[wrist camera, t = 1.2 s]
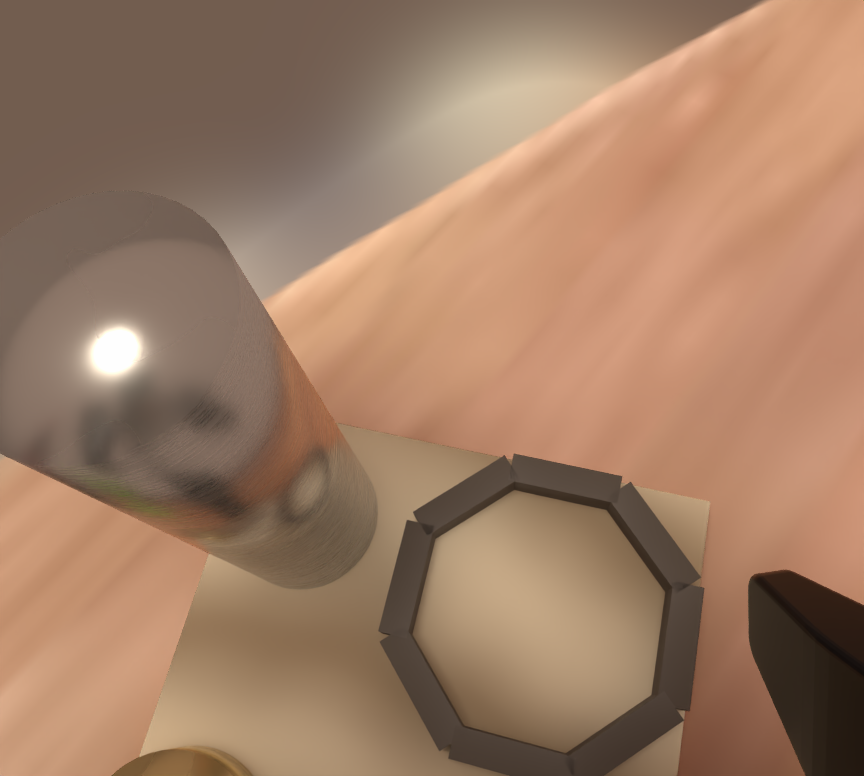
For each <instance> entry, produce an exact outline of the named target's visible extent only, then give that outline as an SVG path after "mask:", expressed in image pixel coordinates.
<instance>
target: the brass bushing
mask: <svg viewBox="0 0 864 776" xmlns="http://www.w3.org/2000/svg"><path fill="white" fill-rule="evenodd" d="M112 776H253V775H252V773H251V772H250V771H249V770H248V769H247V768H246V767H245V766H244V765H243V764H242V763H241V762H240V761H238V760H237V759H236V758H234V757H233V756H231V755H229V754H227V753H226V752H223V751H220V750H218V749H215V748H210V747H206V746H185V747H178V748H173V749H167V750H161V751H156V752H152V753H149V754H146V755H143V756H141V757H138V758H136V759H135V760H133V761H131V762H129V763H127V764H126V765H124V766H123V767H122V768H120V769H119V770H118V771H116V772H115V773H114V774H113V775H112Z"/></svg>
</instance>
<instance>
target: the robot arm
mask: <svg viewBox="0 0 864 776" xmlns="http://www.w3.org/2000/svg"><path fill="white" fill-rule="evenodd" d="M748 619H749V642H750V647H751V651H752V654H753V657H754V659H755V662H756V664H757V666H758V669H759V671H760V673H761V675H762V678H763V680H764V682H765V685H766V687H767V689H768V691H769V694H770V696H771V698H772V700H773V703H774V705H775V707H776V710H777V712H778V714H779V716H780V719H781V721H782V723H783V725H784V728H785V730H786V732H787V735H788V737H789V739H790V741H791V744H792V746H793V748H794V750H795V753H796V755H797V757H798V760H799V762H800V764H801V766H802V768H803V771H804V773H805V775H806V776H864V605H862V604H860V603H858V602H856V601H854V600H852V599H850V598H848V597H845V596H843V595H841V594H839V593H837V592H835V591H833V590H831V589H829V588H827V587H824V586H822V585H820V584H818V583H816V582H814V581H812V580H810V579H808V578H806V577H803V576H801V575H799V574H797V573H795V572H792V571H790V570H779V571H772V572H765V573H758V574H754V575H753V576H752V577H751V578H750V581H749V585H748Z"/></svg>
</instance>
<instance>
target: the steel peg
mask: <svg viewBox="0 0 864 776" xmlns="http://www.w3.org/2000/svg"><path fill="white" fill-rule="evenodd" d="M0 454H2V455H4V456H6V457H8V458H11V459H13V460H15V461H17V462H19V463H21V464H23V465H25V466H27V467H29V468H31V469H34V470H36V471H38V472H40V473H42V474H44V475H46V476H48V477H50V478H52V479H54V480H57V481H59V482H61V483H63V484H65V485H67V486H69V487H71V488H73V489H75V490H77V491H79V492H82V493H84V494H86V495H88V496H90V497H92V498H94V499H96V500H98V501H100V502H102V503H105V504H107V505H109V506H111V507H113V508H115V509H117V510H119V511H121V512H123V513H125V514H128V515H130V516H132V517H134V518H136V519H138V520H140V521H142V522H144V523H146V524H148V525H150V526H153V527H155V528H157V529H159V530H161V531H163V532H165V533H167V534H169V535H171V536H173V537H176V538H178V539H180V540H182V541H184V542H186V543H188V544H190V545H192V546H194V547H196V548H199V549H201V550H203V551H205V552H207V553H209V554H211V555H213V556H215V557H217V558H219V559H222V560H224V561H226V562H228V563H230V564H232V565H234V566H236V567H238V568H240V569H242V570H244V571H247V572H249V573H251V574H253V575H255V576H257V577H259V578H261V579H263V580H265V581H267V582H270V583H272V584H274V585H277V586H280V587H283V588H288V589H299V590H303V589H313V588H317V587H321V586H324V585H327V584H329V583H332V582H333V581H335V580H337V579H339V578H341V577H342V576H343V575H345V574H346V573H348V572H349V571H350V570H351V569H352V568H353V567H354V566H355V565H356V564H357V563H358V562H359V561H360V560H361V558H362V557H363V556H364V554H365V553H366V551H367V549H368V548H369V546H370V543H371V541H372V539H373V536H374V533H375V530H376V525H377V518H378V504H377V498H376V493H375V490H374V487H373V484H372V482H371V480H370V478H369V476H368V475H367V473H366V471H365V470H364V468H363V466H362V465H361V463H360V462H359V460H358V458H357V457H356V455H355V453H354V452H353V450H352V449H351V447H350V445H349V444H348V442H347V441H346V439H345V437H344V436H343V434H342V432H341V431H340V429H339V428H338V426H337V424H336V423H335V421H334V419H333V418H332V416H331V415H330V413H329V411H328V410H327V408H326V406H325V405H324V403H323V402H322V400H321V398H320V397H319V395H318V393H317V392H316V390H315V389H314V387H313V385H312V384H311V382H310V381H309V379H308V377H307V376H306V374H305V372H304V371H303V369H302V368H301V366H300V364H299V363H298V361H297V359H296V358H295V356H294V355H293V353H292V351H291V350H290V348H289V346H288V345H287V343H286V342H285V340H284V338H283V337H282V335H281V333H280V332H279V330H278V329H277V327H276V325H275V324H274V322H273V320H272V319H271V317H270V316H269V314H268V312H267V311H266V309H265V308H264V306H263V304H262V303H261V301H260V299H259V298H258V296H257V295H256V293H255V292H254V290H253V288H252V287H251V285H250V283H249V282H248V280H247V278H246V277H245V275H244V273H243V272H242V270H241V269H240V267H239V265H238V264H237V262H236V261H235V259H234V257H233V256H232V254H231V253H230V251H229V249H228V248H227V246H226V244H225V243H224V241H223V240H222V239H221V237H220V236H219V234H218V233H217V231H216V230H215V229H214V228H213V227H212V226H211V225H210V224H209V223H208V222H207V221H206V220H205V219H203V218H202V217H201V216H200V215H198V214H197V213H196V212H194V211H193V210H191V209H190V208H187V207H186V206H184V205H182V204H180V203H178V202H176V201H173V200H171V199H168V198H165V197H163V196H158V195H154V194H150V193H145V192H136V191H107V192H99V193H92V194H88V195H83V196H79V197H75V198H72V199H69V200H66V201H63V202H60V203H57V204H55V205H53V206H51V207H49V208H46V209H45V210H42V211H40V212H38V213H36V214H35V215H33V216H31V217H29V218H28V219H26V220H24V221H23V222H21V223H20V224H19V225H17V226H16V227H14V228H13V229H12V230H10V231H9V232H7V233H6V234H5V235H4V236H3V237H2V238H1V239H0Z"/></svg>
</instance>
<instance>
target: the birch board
mask: <svg viewBox="0 0 864 776" xmlns="http://www.w3.org/2000/svg"><path fill="white" fill-rule="evenodd" d="M336 424H337V426H338V428H339V429H340V431H341V432H342V434H343V436H344V437H345V439H346V441H347V442H348V444H349V445H350V447H351V449H352V450H353V452H354V453H355V455H356V457H357V458H358V460H359V462H360V463H361V465H362V466H363V468H364V470H365V471H366V473H367V475H368V476H369V478H370V480H371V482H372V484H373V487H374V490H375V493H376V498H377V504H378V518H377V525H376V530H375V533H374V536H373V539H372V541H371V543H370V546H369V548H368V549H367V551H366V553H365V554H364V556H363V557H362V558H361V560H360V561H359V562H358V563H357V564H356V565H355V566H354V567H353V568H352V569H351V570H350V571H349V572H348V573H346V574H345V575H343V576H342V577H341V578H339V579H337V580H335V581H333V582H332V583H329V584H327V585H324V586H321V587H317V588H313V589H303V590H299V589H288V588H283V587H280V586H277V585H274V584H272V583H270V582H267V581H265V580H263V579H261V578H259V577H257V576H255V575H253V574H251V573H249V572H247V571H244V570H242V569H240V568H238V567H236V566H234V565H232V564H230V563H228V562H226V561H224V560H222V559H219V558H217V557H215V556H213V555H211V554H209V555H208V558H207V560H206V563H205V566H204V569H203V572H202V575H201V578H200V581H199V584H198V587H197V590H196V592H195V595H194V598H193V601H192V604H191V607H190V610H189V613H188V616H187V619H186V622H185V624H184V627H183V630H182V633H181V636H180V639H179V642H178V645H177V648H176V651H175V654H174V656H173V659H172V662H171V665H170V668H169V671H168V674H167V677H166V680H165V683H164V686H163V688H162V691H161V694H160V697H159V700H158V703H157V706H156V709H155V712H154V715H153V718H152V720H151V723H150V726H149V729H148V732H147V735H146V738H145V741H144V744H143V747H142V750H141V752H140V755H139V757H141V756H143V755H146V754H149V753H152V752H156V751H161V750H167V749H173V748H178V747H185V746H206V747H210V748H215V749H218V750H220V751H223V752H226V753H227V754H229V755H231V756H233V757H234V758H236V759H237V760H238V761H240V762H241V763H242V764H243V765H244V766H245V767H246V768H247V769H248V770H249V771H250V772H251V773H252V775H253V776H677V774H678V765H679V757H680V749H681V740H682V732H683V724H684V716H685V711H690V704H691V696H692V687H693V679H694V670H695V662H696V653H697V645H698V637H699V628H700V620H701V611H702V603H703V594H704V588H703V587H700V583H701V574H702V566H703V558H704V549H705V541H706V533H707V524H708V516H709V508H710V501H705V500H701V499H696V498H691V497H686V496H682V495H677V494H672V493H667V492H663V491H658V490H653V489H648V488H644V487H639V486H634V485H633V484H632V483H631V482H630V483H628V484H625V483H621V481H622V476H618V475H613V474H608V473H604V472H599V471H594V470H589V469H585V468H580V467H575V466H570V465H565V464H561V463H556V462H551V461H546V460H542V459H537V458H532V457H527V456H523V455H518V454H514V456H513V460H511V459H507V458H506V457H505V455H504V456H503V457H497V456H492V455H487V454H482V453H478V452H473V451H468V450H463V449H459V448H454V447H449V446H444V445H440V444H435V443H430V442H425V441H421V440H416V439H411V438H406V437H402V436H397V435H392V434H387V433H383V432H378V431H373V430H368V429H364V428H359V427H354V426H349V425H345V424H340V423H336Z"/></svg>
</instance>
